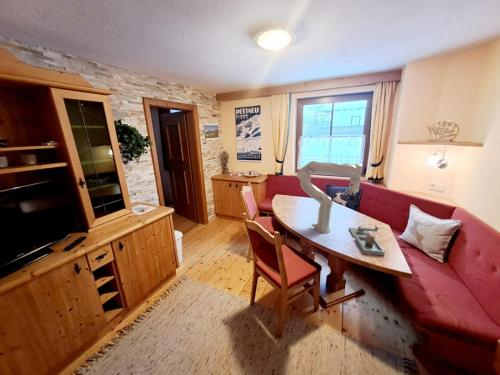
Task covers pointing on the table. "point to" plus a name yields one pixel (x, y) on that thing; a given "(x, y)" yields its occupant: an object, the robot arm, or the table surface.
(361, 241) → the tray
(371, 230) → the crank
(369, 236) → the block
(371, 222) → the table surface
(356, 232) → the crank base
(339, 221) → the table surface
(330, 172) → the robot arm
